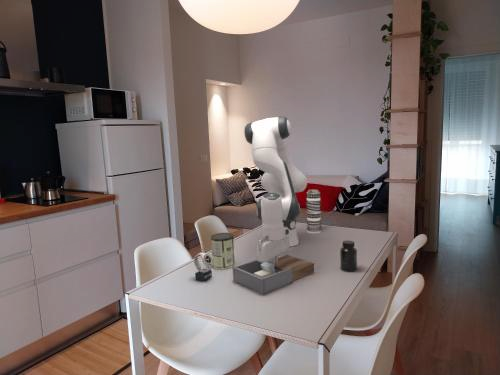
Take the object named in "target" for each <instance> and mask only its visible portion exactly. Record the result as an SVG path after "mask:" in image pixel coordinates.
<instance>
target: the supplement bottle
mask: <svg viewBox="0 0 500 375" xmlns="http://www.w3.org/2000/svg"><path fill="white" fill-rule="evenodd" d="M339 253H340V254H339V256H340V258H339V259H340V260H339V261H340V262H339V263H340V265H339V266H340V270H341V271H344V272H346V273H350V272H351V273H352V272H355V271H357V268H358V250H357V249H356V248H355V241H353V240H343V241H342V247H341V248H340V252H339Z"/></svg>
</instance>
